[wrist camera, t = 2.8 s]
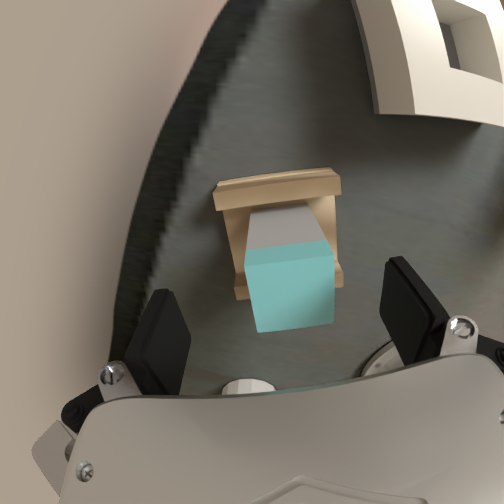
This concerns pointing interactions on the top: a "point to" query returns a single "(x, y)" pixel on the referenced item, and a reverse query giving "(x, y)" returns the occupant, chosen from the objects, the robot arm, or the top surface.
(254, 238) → the plug
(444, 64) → the port block
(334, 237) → the cradle
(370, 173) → the top surface
